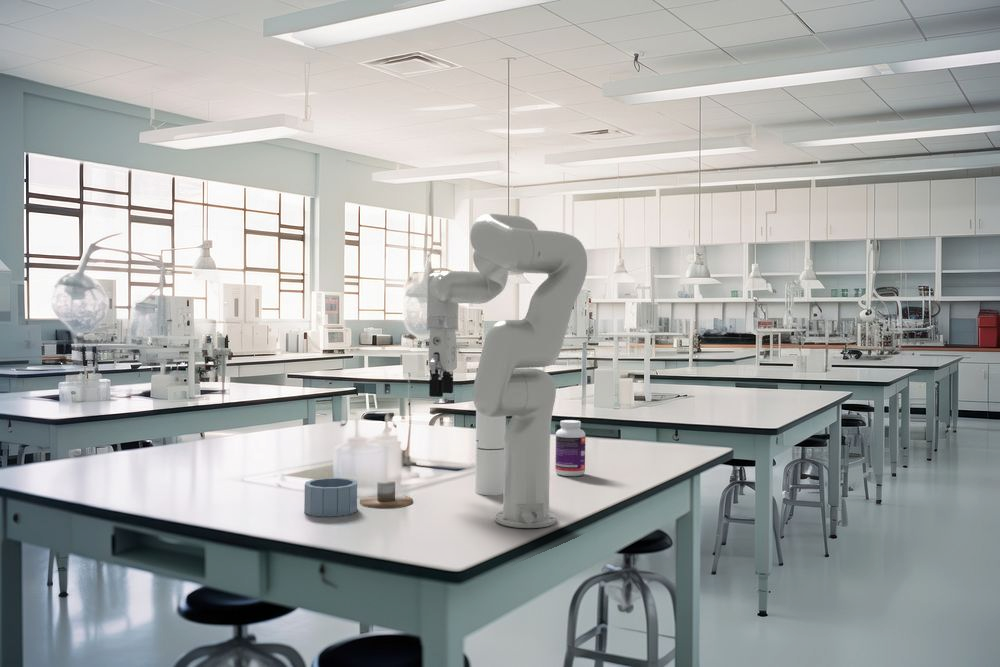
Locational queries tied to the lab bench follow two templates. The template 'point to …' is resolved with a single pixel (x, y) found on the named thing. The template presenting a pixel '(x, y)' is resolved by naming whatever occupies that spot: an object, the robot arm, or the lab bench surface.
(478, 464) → the cylindrical container
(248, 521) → the lab bench surface
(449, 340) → the robot arm
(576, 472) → the pill bottle
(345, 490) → the bowl
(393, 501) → the lid
